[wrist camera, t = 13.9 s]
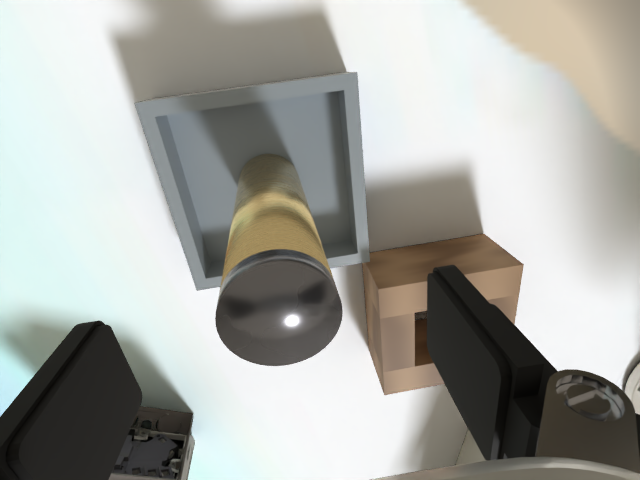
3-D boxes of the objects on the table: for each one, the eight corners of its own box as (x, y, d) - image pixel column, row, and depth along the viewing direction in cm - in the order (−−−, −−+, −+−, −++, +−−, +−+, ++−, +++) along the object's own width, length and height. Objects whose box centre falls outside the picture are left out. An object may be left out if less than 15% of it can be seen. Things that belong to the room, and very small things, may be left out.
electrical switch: (89, 427, 32) (28, 542, 24) (99, 382, 31) (37, 488, 22) (194, 440, 35) (172, 549, 26) (207, 399, 33) (189, 501, 25)
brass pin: (294, 149, 23) (335, 254, 10) (303, 206, 25) (347, 352, 12) (232, 158, 23) (199, 279, 10) (246, 216, 24) (232, 376, 12)
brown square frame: (484, 233, 28) (523, 264, 24) (474, 330, 33) (506, 372, 28) (361, 254, 28) (378, 289, 23) (369, 349, 32) (384, 394, 28)
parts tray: (346, 71, 22) (357, 72, 19) (360, 242, 27) (370, 261, 25) (152, 98, 21) (134, 102, 19) (204, 268, 27) (196, 290, 24)
